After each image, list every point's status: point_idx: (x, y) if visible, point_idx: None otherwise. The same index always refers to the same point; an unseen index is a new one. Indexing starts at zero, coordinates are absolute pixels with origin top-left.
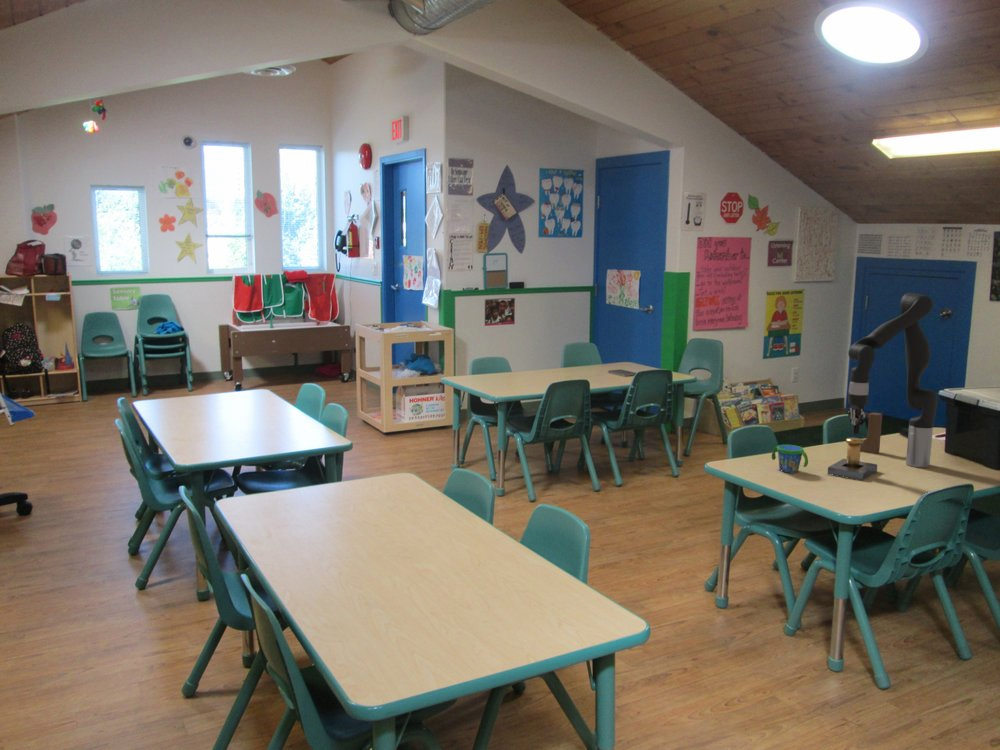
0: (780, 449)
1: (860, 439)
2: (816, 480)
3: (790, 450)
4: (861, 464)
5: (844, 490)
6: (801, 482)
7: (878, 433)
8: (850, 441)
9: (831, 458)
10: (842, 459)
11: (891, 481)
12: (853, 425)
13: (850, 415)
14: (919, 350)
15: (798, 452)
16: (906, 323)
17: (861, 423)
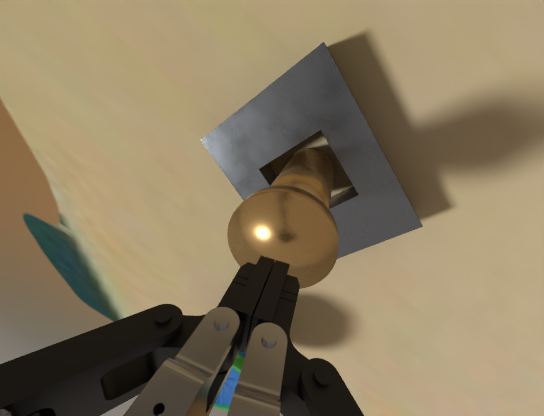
0: (226, 408)
1: (288, 208)
2: (346, 324)
3: (234, 390)
4: (300, 129)
5: (472, 335)
6: (346, 362)
7: None
8: (301, 285)
9: (123, 110)
10: (212, 153)
11: (495, 99)
12: (246, 351)
13: (98, 411)
14: None
15: None
16: None
17: (334, 398)
